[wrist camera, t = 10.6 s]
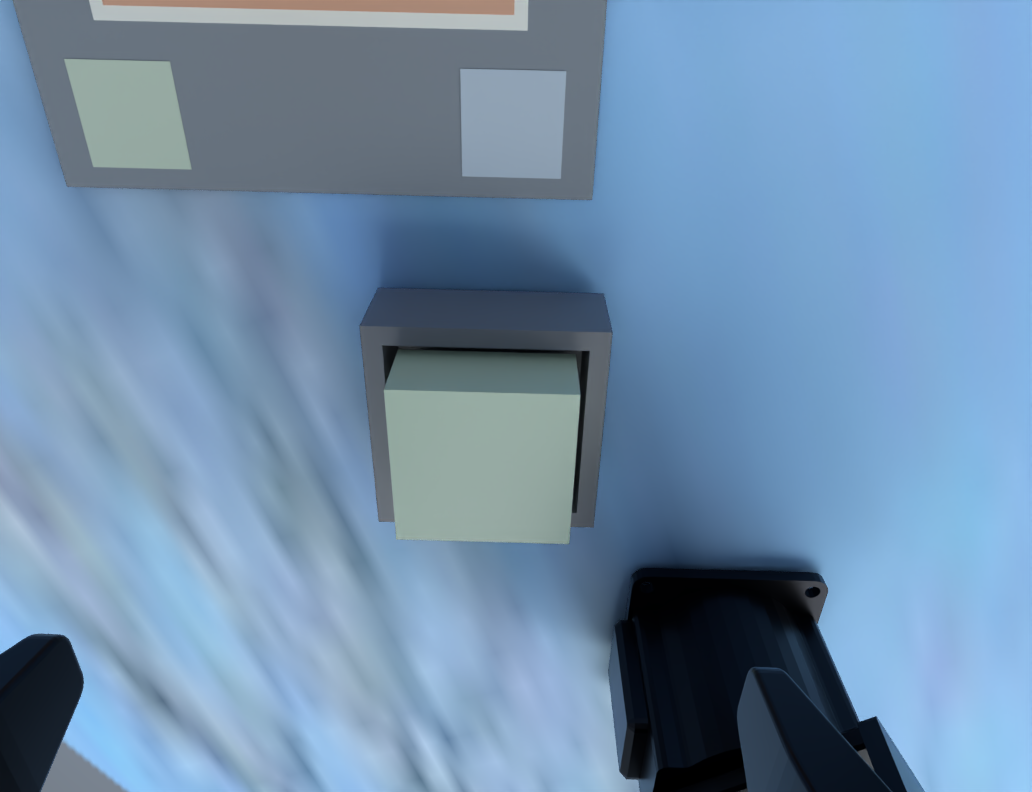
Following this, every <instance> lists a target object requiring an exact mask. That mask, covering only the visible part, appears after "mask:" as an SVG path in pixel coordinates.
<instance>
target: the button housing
mask: <svg viewBox="0 0 1032 792" xmlns="http://www.w3.org/2000/svg"><path fill="white" fill-rule="evenodd" d="M612 333H613V332H612V328H611V324H610V319H609V315H608V310H607V306H606V302H605V297H604V294H598V293H560V292H522V291H483V290H445V289H406V288H378V289H377V291H376V293H375V295H374V297H373V299H372V301H371V303H370V305H369V307H368V309H367V312H366V314H365V316H364V318H363V320H362V322H361V324H360V336H361V346H362V356H363V366H364V377H365V387H366V397H367V407H368V417H369V427H370V438H371V448H372V458H373V468H374V478H375V488H376V499H377V509H378V519H379V522H395V518H394V506H393V494H392V482H391V470H390V458H389V446H388V434H387V422H386V410H385V398H384V388H385V385H386V382H387V379H388V376H389V374H390V371H391V368H392V365H393V362H394V359H395V356H396V354H397V351H398V349H402V350H440V351H478V352H515V353H553V354H576V361H577V369H578V378H579V386H580V409H579V422H578V435H577V448H576V461H575V474H574V487H573V500H572V513H571V526H570V527H594V517H595V507H596V497H597V487H598V476H599V466H600V456H601V446H602V435H603V425H604V415H605V405H606V394H607V384H608V374H609V364H610V353H611V343H612Z"/></svg>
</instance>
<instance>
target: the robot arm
mask: <svg viewBox="0 0 1032 792" xmlns="http://www.w3.org/2000/svg"><path fill="white" fill-rule="evenodd" d="M645 582H650V583H649V584H645V585H644V584H642V583H645ZM810 587H813V588H811V589H808V588H810ZM827 593H828V588H827V586H826V583H825V581H824V579H823V578H822V576H821V575H819V574H817V573H809V572H774V571H738V570H702V569H666V568H643V569H639V570H637V571H635V572H634V573H633V574H632V576H631V579H630V586H629V594H628V601H627V608H626V615H625V620H619V621H618V622H617V623H616V624H615V625H614V630H613V638H612V646H611V653H610V661H609V669H608V674H609V683H610V692H611V701H612V710H613V719H614V728H615V737H616V746H617V755H618V764H619V772H620V773H621V774H622V775H623V776H624V777H625V778H626V779H637V780H638V781H639V788H640V792H925V791H924V790H923V788H922V786H921V785H920V783H919V782H918V780H917V779H916V777H915V776H914V774H913V772H912V771H911V769H910V768H909V766H908V765H907V763H906V761H905V760H904V758H903V757H902V755H901V754H900V752H899V751H898V749H897V747H896V746H895V744H894V743H893V741H892V740H891V738H890V737H889V735H888V733H887V732H886V730H885V729H884V727H883V726H882V724H881V723H880V721H879V719H878V718H877V716H875V717H872V718H870V719H867V720H864V721H861V722H860V721H859V719H858V716H857V714H856V712H855V710H854V707H853V705H852V703H851V701H850V698H849V696H848V694H847V691H846V689H845V687H844V685H843V682H842V680H841V678H840V675H839V673H838V671H837V669H836V666H835V664H834V662H833V660H832V657H831V655H830V653H829V650H828V648H827V646H826V644H825V641H824V639H823V637H822V634H821V632H820V630H819V628H818V625H817V623H818V620H819V617H820V614H821V611H822V608H823V605H824V602H825V599H826V596H827ZM83 684H84V680H83V673H82V671H81V668H80V666H79V663H78V660H77V658H76V655H75V653H74V650H73V648H72V645H71V642H70V641H69V639H68V638H67V637H65V636H64V635H58V634H34V635H31V636H28V637H26V638H25V639H23V640H21V641H20V642H18V643H17V644H15V645H14V646H12V647H11V648H9V649H8V650H6V651H5V652H3V653H2V654H0V792H41V790H42V787H43V785H44V783H45V780H46V778H47V775H48V773H49V771H50V768H51V766H52V764H53V761H54V759H55V756H56V754H57V751H58V749H59V747H60V744H61V742H62V740H63V737H64V735H65V733H66V730H67V728H68V725H69V723H70V721H71V718H72V716H73V713H74V711H75V709H76V706H77V704H78V702H79V699H80V697H81V694H82V690H83Z"/></svg>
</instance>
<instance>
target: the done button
mask: <svg viewBox="0 0 1032 792" xmlns="http://www.w3.org/2000/svg"><path fill="white" fill-rule="evenodd" d="M384 398H385V410H386V422H387V434H388V446H389V458H390V470H391V482H392V494H393V506H394V518H395V530H396V539H400V540H436V541H472V542H508V543H544V544H569V539H570V526H571V513H572V500H573V487H574V474H575V461H576V448H577V435H578V422H579V409H580V386H579V378H578V369H577V361H576V354H553V353H515V352H478V351H440V350H402V349H398V351H397V354H396V356H395V359H394V362H393V365H392V368H391V371H390V374H389V376H388V379H387V382H386V385H385V388H384Z"/></svg>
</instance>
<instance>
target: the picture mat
mask: <svg viewBox="0 0 1032 792" xmlns="http://www.w3.org/2000/svg"><path fill="white" fill-rule="evenodd" d="M13 4H14V7H15V11H16V14H17V17H18V21H19V24H20V28H21V31H22V34H23V38H24V41H25V45H26V48H27V52H28V55H29V58H30V62H31V65H32V69H33V72H34V75H35V79H36V82H37V86H38V89H39V93H40V96H41V99H42V103H43V106H44V110H45V113H46V116H47V120H48V123H49V127H50V130H51V134H52V137H53V140H54V144H55V147H56V151H57V154H58V157H59V161H60V164H61V168H62V171H63V174H64V178H65V181H66V185H67V187H97V188H137V189H176V190H215V191H255V192H294V193H334V194H373V195H412V196H452V197H491V198H530V199H570V200H592V195H593V182H594V168H595V155H596V141H597V128H598V114H599V101H600V87H601V74H602V60H603V47H604V33H605V20H606V6H607V0H13Z"/></svg>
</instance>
